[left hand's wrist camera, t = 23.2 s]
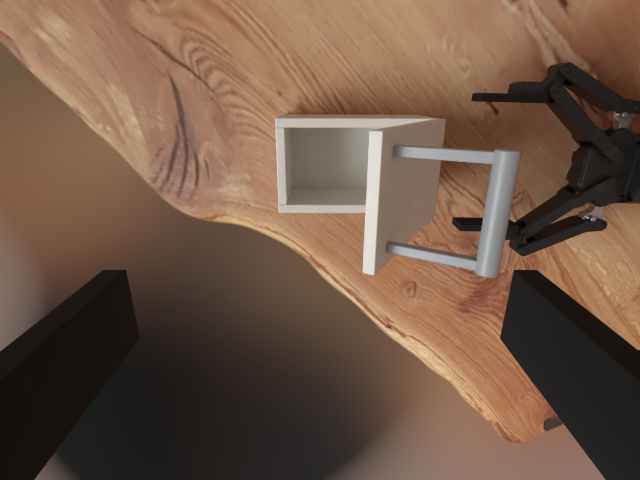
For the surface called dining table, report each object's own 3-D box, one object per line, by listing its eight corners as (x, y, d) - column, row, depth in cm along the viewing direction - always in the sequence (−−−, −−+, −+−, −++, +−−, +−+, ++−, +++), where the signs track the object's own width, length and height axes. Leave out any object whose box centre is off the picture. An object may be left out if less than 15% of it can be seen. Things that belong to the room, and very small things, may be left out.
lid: (362, 273, 26) (491, 304, 22) (368, 130, 23) (522, 137, 19) (426, 214, 39) (513, 227, 35) (436, 118, 36) (534, 121, 32)
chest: (286, 192, 48) (278, 212, 40) (283, 114, 45) (275, 118, 36) (409, 192, 48) (429, 213, 40) (416, 114, 45) (439, 118, 36)
